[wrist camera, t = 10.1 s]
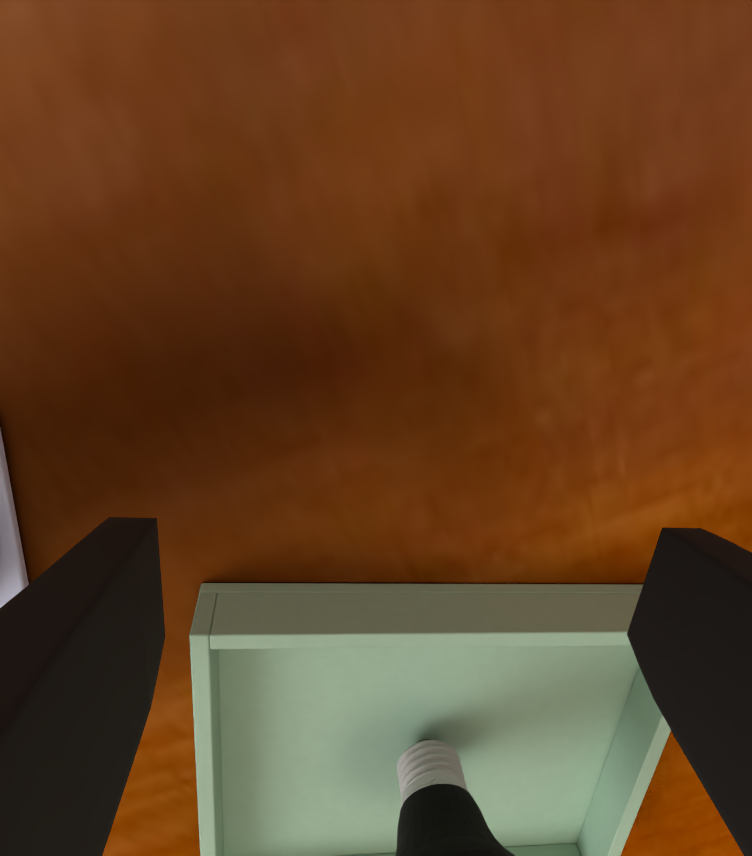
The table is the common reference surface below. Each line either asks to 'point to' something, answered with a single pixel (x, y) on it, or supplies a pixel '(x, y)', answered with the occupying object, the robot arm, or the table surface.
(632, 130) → the table surface
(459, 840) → the light bulb
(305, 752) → the tray
